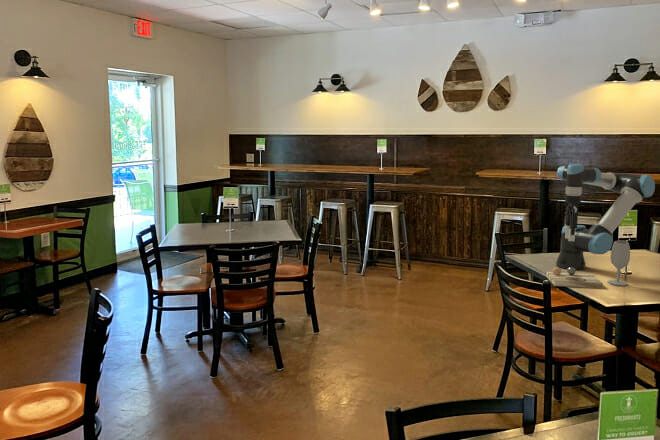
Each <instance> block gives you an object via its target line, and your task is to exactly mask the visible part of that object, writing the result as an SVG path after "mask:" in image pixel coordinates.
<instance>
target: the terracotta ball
mask: <svg viewBox="0 0 660 440" xmlns="http://www.w3.org/2000/svg"><path fill="white" fill-rule="evenodd" d="M561 269H562V268H560V267H557V266H555V267H554V268H553V269H552V272H553V274H555V275H559V274H560V273H561V272H562V270H561Z"/></svg>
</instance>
